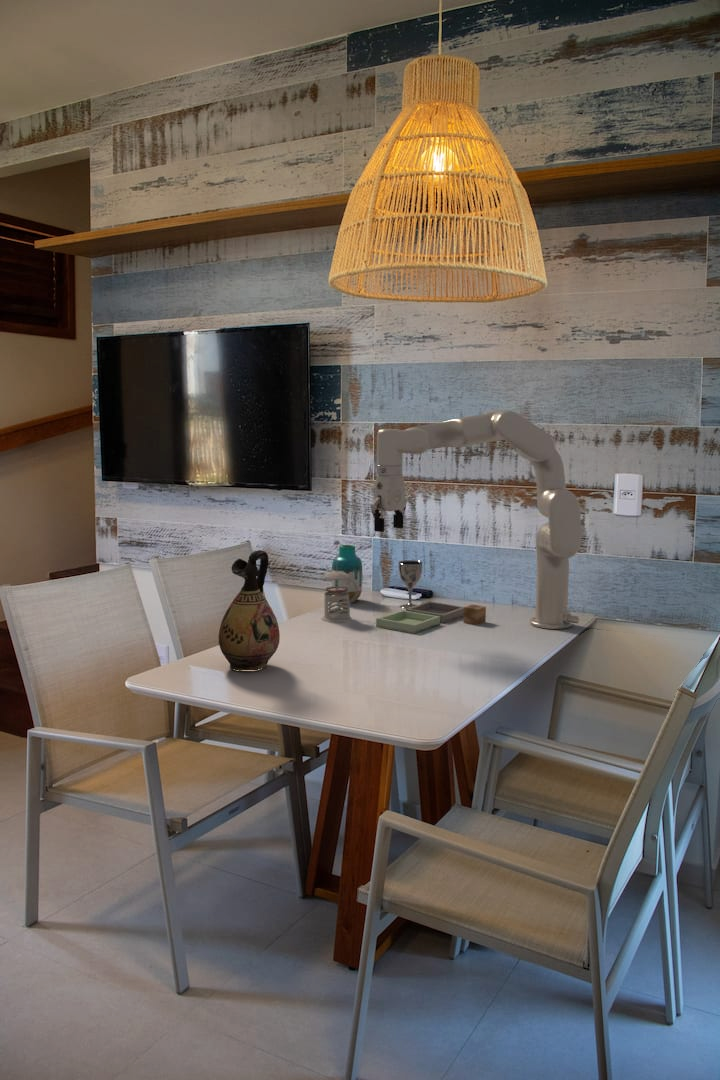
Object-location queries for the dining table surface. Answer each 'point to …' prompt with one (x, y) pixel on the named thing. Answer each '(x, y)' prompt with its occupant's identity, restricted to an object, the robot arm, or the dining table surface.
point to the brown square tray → (439, 610)
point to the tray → (408, 621)
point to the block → (474, 614)
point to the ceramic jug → (249, 619)
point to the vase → (348, 570)
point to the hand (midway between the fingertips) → (388, 529)
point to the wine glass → (410, 577)
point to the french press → (337, 598)
